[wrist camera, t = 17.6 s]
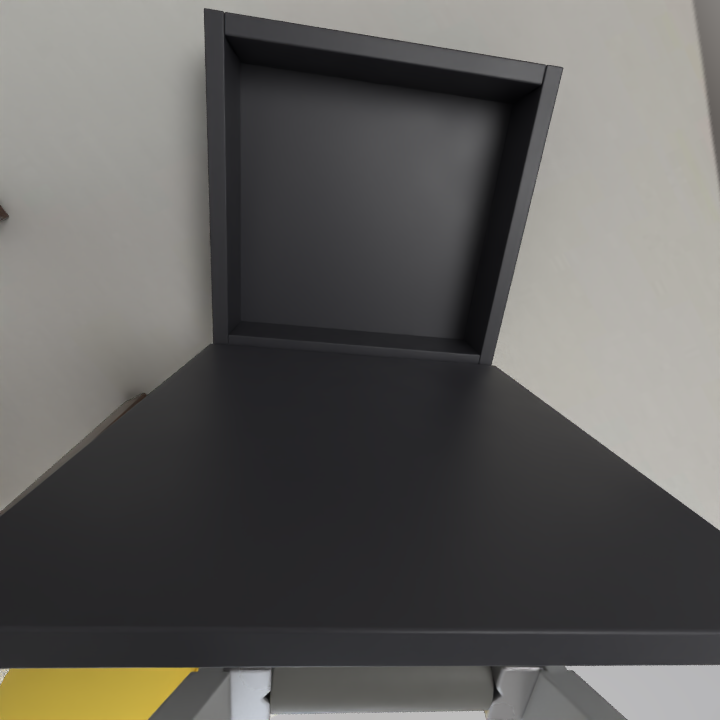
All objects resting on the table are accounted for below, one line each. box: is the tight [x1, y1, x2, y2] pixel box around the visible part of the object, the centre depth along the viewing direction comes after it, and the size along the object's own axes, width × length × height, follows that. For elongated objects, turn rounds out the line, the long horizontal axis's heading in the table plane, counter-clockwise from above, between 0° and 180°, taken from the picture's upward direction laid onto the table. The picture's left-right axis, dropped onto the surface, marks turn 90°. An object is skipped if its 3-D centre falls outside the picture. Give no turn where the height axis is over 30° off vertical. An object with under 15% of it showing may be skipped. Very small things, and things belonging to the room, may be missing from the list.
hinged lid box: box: [204, 8, 563, 365], centre depth 20 cm, size 15×16×4 cm
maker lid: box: [0, 344, 720, 714], centre depth 14 cm, size 15×16×5 cm
